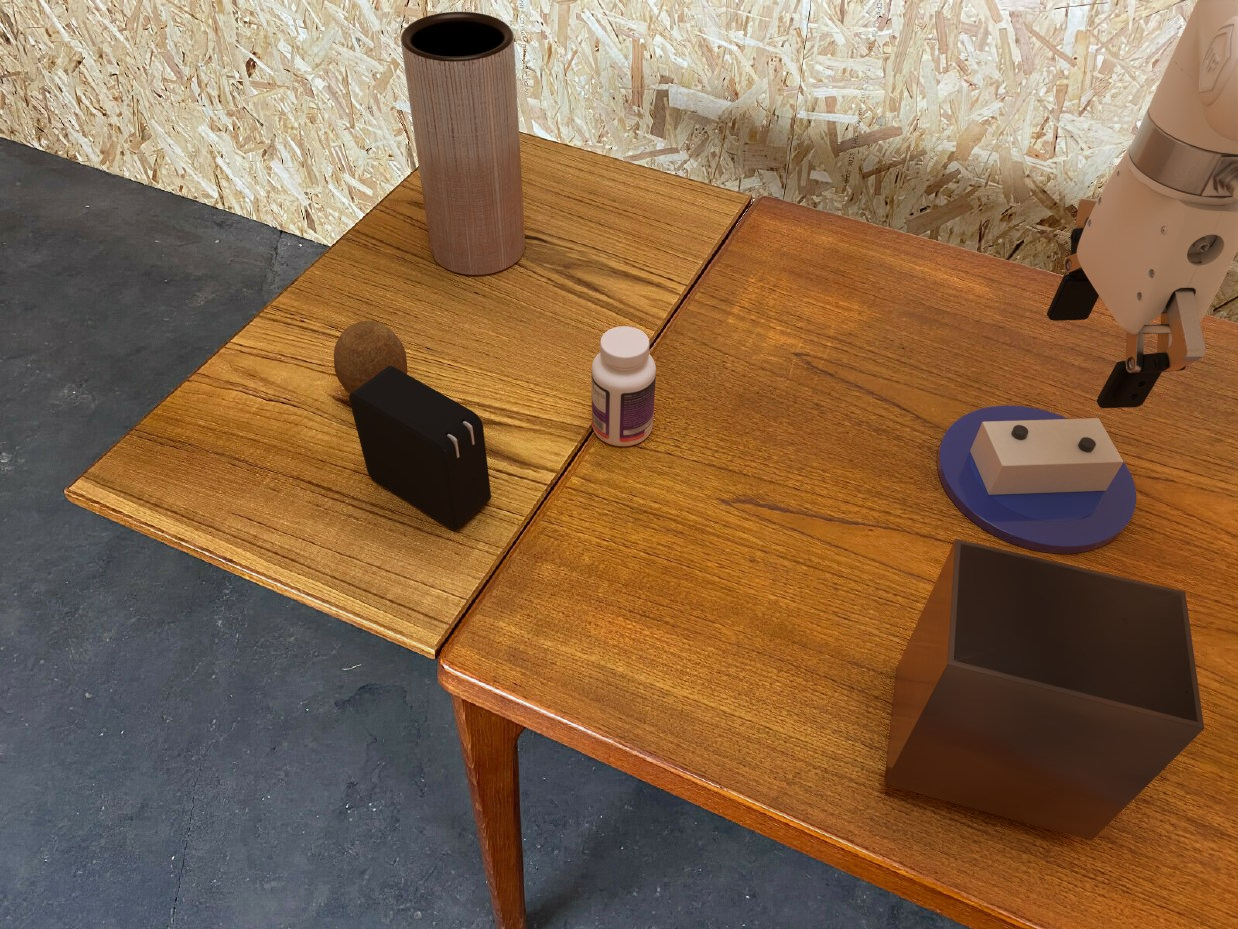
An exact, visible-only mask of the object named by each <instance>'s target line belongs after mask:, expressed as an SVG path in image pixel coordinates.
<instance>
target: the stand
mask: <svg viewBox="0 0 1238 929" xmlns="http://www.w3.org/2000/svg"><path fill="white" fill-rule="evenodd" d="M1188 608H1189V607H1188V600H1187V593H1186V591H1185V590H1181V589H1176V588H1172V587H1168V586H1164V585H1160V584H1155V583H1150V582H1147V581H1142V580H1137V579H1134V578H1129V577H1125V576H1120V575H1116V574H1111V573H1107V572H1102V571H1100V570H1099V571H1098V570H1095V569H1090V568H1086V567H1082V566H1077V565H1073V564H1069V563H1068V564H1067V563H1063V562H1060V561H1056V560H1052V559H1046V558H1042V557H1038V556H1033V555H1029V554H1025V553H1020V552H1016V551H1011V550H1009V549H1008V550H1007V549H1004V548H1003V549H1002V548H998V547H994V546H991V545H985V544H981V543H976V542H972V541H968V540H963V539H959V538H955V539H954V542H953V544H952V546H951V547H950V550H949V552H948V554H947V557H946V558H945V561H944V563H943V566H942V568H941V569H940V572H939V575H938V576H937V578H936V581H935V582H934V585H933V587H932V590H931V592H930V593H929V596H928V598H927V601H926V602H925V605H924V607H923V609H922V612H921V614H920V615H919V618H918V620H917V622H916V624H915V627H914V629H913V631H912V633H911V635H910V638H909V640H908V642H907V644H906V646H905V648H904V651H903V654H902V655H901V658H900V659H899V662H898V664H897V666H896V669H895V677H894V679H895V680H894V687H893V696H892V707H891V715H890V726H889V733H888V734H889V735H888V744H887V752H886V753H887V754H886V763H885V772H884V781H883V783H884V785H888V786H892V787H894V788H899V789H903V790H906V791H909V792H912V793H918V794H921V795H924V796H928V797H931V798H935V799H938V800H942V801H945V802H949V803H953V804H956V805H960V806H964V807H967V808H971V809H975V810H978V811H981V812H985V813H988V814H993V815H995V816H1000V817H1004V818H1007V819H1010V820H1014V821H1018V822H1022V823H1025V824H1029V825H1032V826H1035V827H1039V828H1043V829H1047V830H1050V831H1054V832H1057V833H1061V834H1065V835H1068V836H1072V837H1076V838H1078V839H1082V840H1086V841H1091V842H1092V841H1094V840H1095V838H1097V837H1098V835H1100V834H1101V833H1102V831H1103V830H1104V829H1105V828H1106V827H1108V826H1109V824H1110V823H1111V822H1112V821H1114V820H1115V818H1117V817H1118V816H1119V815H1120V814H1121V813H1122V812H1123V811H1124V809H1126V808H1127V806H1129V804H1131V803H1132V802H1133V801H1134V799H1135V798H1137V797H1138V796H1139V795H1140V794H1141V792H1142V791H1144V790H1145V789H1146V788H1147V787H1148V786H1149V785H1150V784H1151V783H1152V782H1153V781H1154V780H1155V779H1156V778H1157V777H1158V776H1159V775H1160V774H1161V773H1162V772H1163V771H1164V770H1165V769H1166V768H1167V767H1168V766H1169V765H1170V764H1171V763H1172V762H1173V761H1174V760H1175V759H1176V758H1177V757H1178V756H1179V755H1180V754H1181V753H1182V752H1183V751H1184V750H1185V749H1186V748H1187V747H1189V745H1190V744H1191V743H1192V742H1193V741H1194V740H1195V739H1196V738H1197V737H1198V736H1199V735H1200V734H1201V733H1202V732H1203V731H1204V730H1205V723H1204V716H1203V710H1202V702H1201V694H1200V687H1199V678H1198V673H1197V666H1196V658H1195V650H1194V644H1193V636H1192V629H1191V623H1190V621H1191V620H1190V614H1189V609H1188Z"/></svg>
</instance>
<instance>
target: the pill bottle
mask: <svg viewBox="0 0 1238 929" xmlns="http://www.w3.org/2000/svg"><path fill="white" fill-rule="evenodd" d="M599 345H600V346H599V352H598V353H597V354H596V355H595V357H594V358H593V361H592V364H591V373H590V374H591V426H592V430H593V432H594V434H595V435H596V437H597V438H598V439H600V440H601V441H602V442H604V443H606V444H609V445H611V446H614V447H615V446H616V447H631V446H635V445H637V444H639V443H642V442H643V441H645V440H646V439H647V438H648V437H649V436H650V434H651V433H652V430H653V427H654V416H655V414H654V413H655V396H656V395H655V394H656V382H657V380H656V379H657V366H656V362H655V360H654V358H653V356H652V355H651V353H650V339H649V336H648V335H647V334H646V333H645V332H644V331H643V330H642V329H639V328H637V327H634V326H629V325H623V326H622V325H621V326H615V327H612V328H610V329H607V330H606V331H605V332H603V334H602V335H601V338H600V344H599Z"/></svg>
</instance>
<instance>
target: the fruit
mask: <svg viewBox="0 0 1238 929" xmlns="http://www.w3.org/2000/svg"><path fill="white" fill-rule="evenodd" d="M407 359H408V358H407V352H406V349H405V346H404V345H403V343H402V341H401V339H400V338H399V337H398V335H396V333H395V332H394V331H393V330H392V329H391V328H390V327H388V326H387V325H384V324H382V323H380V322H378V321H373V320H363V321H358V322H355V323H352V324H350V325H349V326H348V327H346V328H345V329H344V330H343V331H342V332H341V333H340V335H339V337H338V338H337V340H336V342H335V345H334V348H333V367H334V368H333V369H334V373H335V375H336V376H335V377H336V378H337V380H338V382H339V383H340V385H341V386H342V387H343V389H344V390H345V391H346V392H347V394H348V395H350V394H351V393H352V392H354V391H355V390H356V389H358V388H359V387H360V386H362V385H363V384H365V383H366V382H367V381H369V380H370V379H371V378H373V377H374V376H375V375H377V374H378V373H379V372H381V371H382V370H384V369H385V368H386V367H388V366H393V367H395V368H397V369H398V370H400V371H402V372H404V373H406V374H407V375H408V361H407Z"/></svg>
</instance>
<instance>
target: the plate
mask: <svg viewBox="0 0 1238 929" xmlns="http://www.w3.org/2000/svg"><path fill="white" fill-rule="evenodd" d="M1056 419H1069V418H1068V417H1065V416H1063V415H1061V414H1057V413H1055V412H1052V411H1048V410H1045V409H1040V408H1036V407H1030V406H1023V405H1014V404H1013V405H1010V404H1009V405H995V406H987V407H983V408H979V409H976V410H973V411H970V412H968V413H966V414H964V415H963V416H961V417H959V418H958V419H957V420H956V421H954V422H953V423H952V424H951V425H950V426H949V427H948V428H947V430H946V432H945V433H944V434H943V436H942V439H941V441H940V444H939V447H938V450H937V455H936V468H937V473H938V478H939V480H940V482H941V486H942V487H943V489H944V491H945V493H946V495H947V497H949V499H950V500H951V502H952V503H953V504H954V505H955V507H956V508H957V509H958V510H959V512H961V513H962V514H963V515H964V516H966V518H967V519H969V520H970V521H971V522H972V523H974V524H975V525H976V526H977V527H979V528H981V529H982V530H983V531H985V532H987V533H988V534H990V535H992V536H994V537H995V538H998V539H1000V540H1002V541H1004V542H1006V543H1009V544H1012V545H1015V546H1017V547H1020V548H1023V549H1028V550H1031V551H1036V552H1041V553H1047V554H1058V555H1064V554H1066V555H1069V554H1079V553H1086V552H1089V551H1094V550H1096V549H1099V548H1101V547H1103V546H1106V545H1108V544H1109V543H1111V542H1113V541H1114V540H1116V539H1117V538H1118V537H1119V536H1120V535H1121V534H1122V533H1123V532H1124V530H1125V529H1126V528H1127V526H1128V524H1129V523H1130V521H1131V520H1132V518H1133V516H1134V515H1135V514H1134V513H1135V511H1136V505H1137V490H1136V489H1137V488H1136V483H1135V481H1134V478H1133V476H1132V473H1131V472H1130V470H1129V468H1128V466H1127V464H1126V463H1125V461H1123V463H1122V465H1121V467H1120V468H1119V470H1118V472H1117V473H1116V475H1115V477H1114V478H1113V480H1112V482H1111V483H1110V485H1109V487H1108V488H1107V490H1106V491H1085V492H1056V493H1028V494H999V495H989V494H988V492H987V489H986V487H985V485H984V483H983V480H982V478H981V476H980V473H979V471H978V469H977V466H976V464H975V462H974V459H973V457H972V455H971V452H970V450H971V448H972V445H973V443H974V441H975V438H976V436H977V433H978V431H979V429H980V426H981V424H982V422H990V421H1023V420H1056Z"/></svg>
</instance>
